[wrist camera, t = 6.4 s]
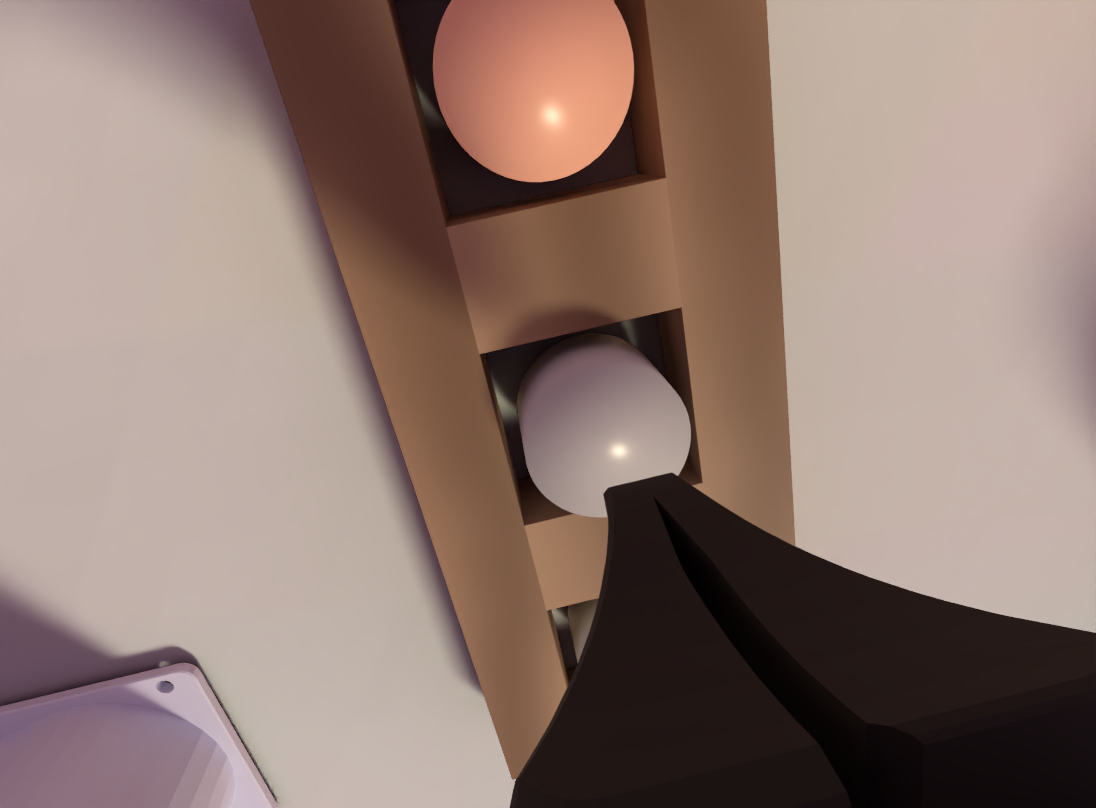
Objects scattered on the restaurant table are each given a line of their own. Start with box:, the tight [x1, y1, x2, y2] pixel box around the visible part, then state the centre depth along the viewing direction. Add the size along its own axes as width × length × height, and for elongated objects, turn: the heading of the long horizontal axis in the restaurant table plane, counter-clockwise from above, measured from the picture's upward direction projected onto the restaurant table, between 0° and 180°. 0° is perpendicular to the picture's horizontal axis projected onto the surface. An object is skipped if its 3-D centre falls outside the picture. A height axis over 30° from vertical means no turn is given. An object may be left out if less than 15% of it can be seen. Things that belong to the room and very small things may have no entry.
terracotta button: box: [433, 0, 634, 182], centre depth 13 cm, size 4×4×3 cm
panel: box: [250, 0, 795, 780], centre depth 17 cm, size 10×24×2 cm, turn 12°
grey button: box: [517, 333, 691, 518], centre depth 16 cm, size 4×4×3 cm
